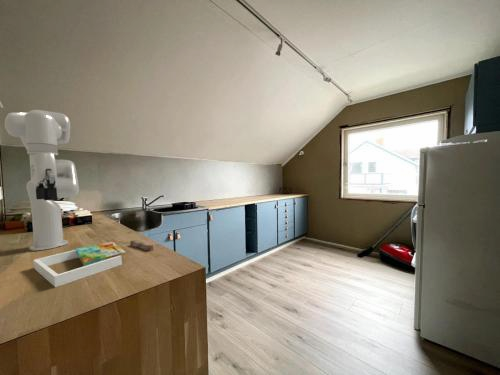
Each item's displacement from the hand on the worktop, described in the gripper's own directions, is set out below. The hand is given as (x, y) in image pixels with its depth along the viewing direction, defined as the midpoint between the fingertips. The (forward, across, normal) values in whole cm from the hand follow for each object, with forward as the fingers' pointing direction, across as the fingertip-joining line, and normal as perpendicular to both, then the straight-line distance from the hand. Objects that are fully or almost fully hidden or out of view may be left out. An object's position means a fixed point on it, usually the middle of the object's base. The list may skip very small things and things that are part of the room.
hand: (46, 199), depth 72 cm
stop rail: (+23, +12, +26) cm, 37 cm away
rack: (+23, +12, +5) cm, 26 cm away
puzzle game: (+24, +12, +11) cm, 28 cm away
